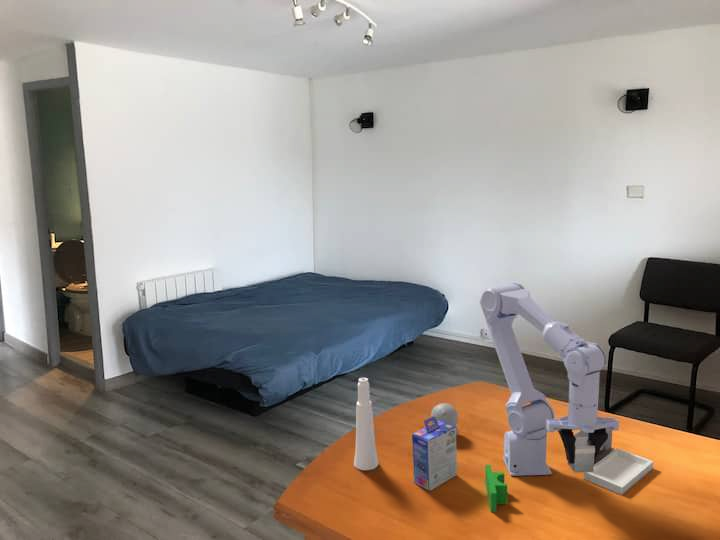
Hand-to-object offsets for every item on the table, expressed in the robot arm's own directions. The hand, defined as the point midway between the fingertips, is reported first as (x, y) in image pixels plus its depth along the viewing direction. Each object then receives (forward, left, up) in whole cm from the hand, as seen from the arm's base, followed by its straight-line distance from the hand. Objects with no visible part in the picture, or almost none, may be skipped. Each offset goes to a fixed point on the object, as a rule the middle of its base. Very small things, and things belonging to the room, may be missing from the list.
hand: (580, 461), depth 120 cm
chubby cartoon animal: (-25, +31, -9) cm, 41 cm away
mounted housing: (+9, +16, -8) cm, 20 cm away
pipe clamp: (-18, +1, -9) cm, 20 cm away
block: (0, 0, -2) cm, 2 cm away
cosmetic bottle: (-46, +15, -9) cm, 49 cm away
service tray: (+12, +9, -8) cm, 17 cm away
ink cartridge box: (-30, +8, -9) cm, 32 cm away
